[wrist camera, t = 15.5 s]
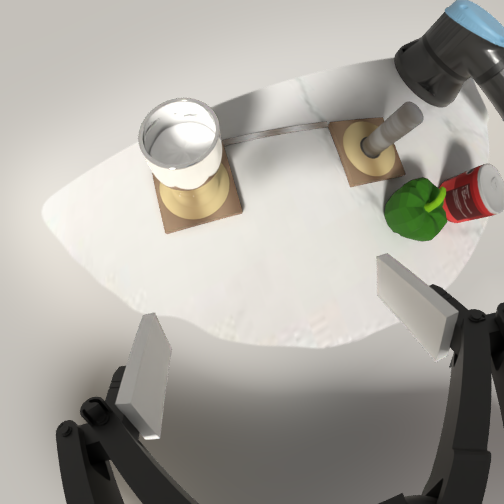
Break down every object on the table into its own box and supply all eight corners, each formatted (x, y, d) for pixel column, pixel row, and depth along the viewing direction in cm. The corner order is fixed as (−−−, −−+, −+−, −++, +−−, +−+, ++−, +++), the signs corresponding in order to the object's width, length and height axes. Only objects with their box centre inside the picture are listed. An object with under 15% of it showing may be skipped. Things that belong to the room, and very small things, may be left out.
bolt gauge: (378, 117, 41) (420, 76, 27) (401, 176, 40) (454, 148, 27) (151, 160, 37) (122, 113, 23) (167, 234, 36) (138, 215, 23)
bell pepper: (395, 254, 39) (438, 250, 29) (367, 207, 39) (405, 191, 29) (426, 225, 40) (469, 215, 30) (401, 181, 40) (440, 161, 30)
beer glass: (163, 167, 35) (131, 108, 20) (215, 153, 36) (212, 87, 21) (174, 217, 35) (142, 182, 20) (228, 203, 36) (232, 158, 21)
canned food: (466, 192, 42) (507, 179, 31) (460, 231, 41) (505, 223, 30) (439, 172, 41) (481, 153, 30) (432, 211, 41) (478, 198, 30)
